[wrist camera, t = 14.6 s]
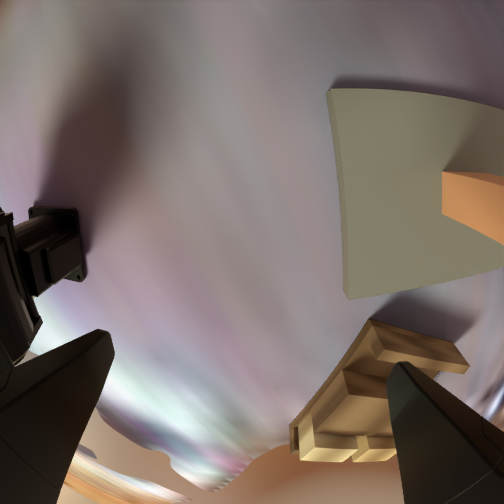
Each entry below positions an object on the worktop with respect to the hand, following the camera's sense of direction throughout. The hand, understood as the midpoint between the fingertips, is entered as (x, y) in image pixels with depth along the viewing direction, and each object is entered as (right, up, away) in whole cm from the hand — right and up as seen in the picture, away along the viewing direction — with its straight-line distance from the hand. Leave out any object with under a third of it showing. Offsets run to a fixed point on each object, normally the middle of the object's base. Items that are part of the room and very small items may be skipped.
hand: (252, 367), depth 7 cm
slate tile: (+16, +8, +9) cm, 20 cm away
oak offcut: (+14, -17, +17) cm, 28 cm away
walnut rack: (+13, -10, +16) cm, 23 cm away
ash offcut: (+8, -15, +17) cm, 24 cm away
